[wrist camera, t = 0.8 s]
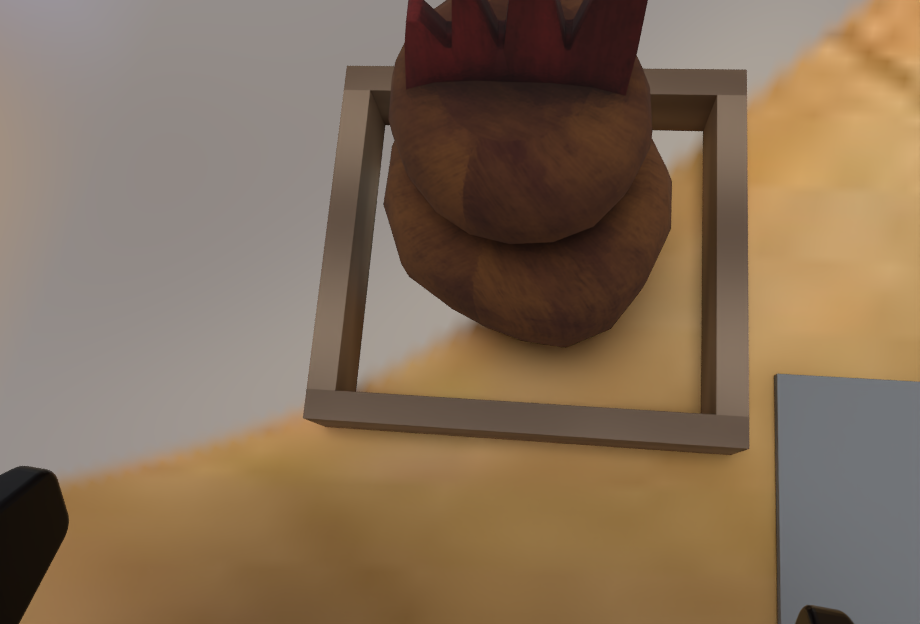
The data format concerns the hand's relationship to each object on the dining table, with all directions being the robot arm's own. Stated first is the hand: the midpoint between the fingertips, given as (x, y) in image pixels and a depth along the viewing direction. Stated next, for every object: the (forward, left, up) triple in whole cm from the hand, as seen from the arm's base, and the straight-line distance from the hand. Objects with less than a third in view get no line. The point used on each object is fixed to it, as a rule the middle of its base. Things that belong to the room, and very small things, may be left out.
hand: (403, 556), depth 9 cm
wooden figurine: (+8, -1, -14) cm, 16 cm away
